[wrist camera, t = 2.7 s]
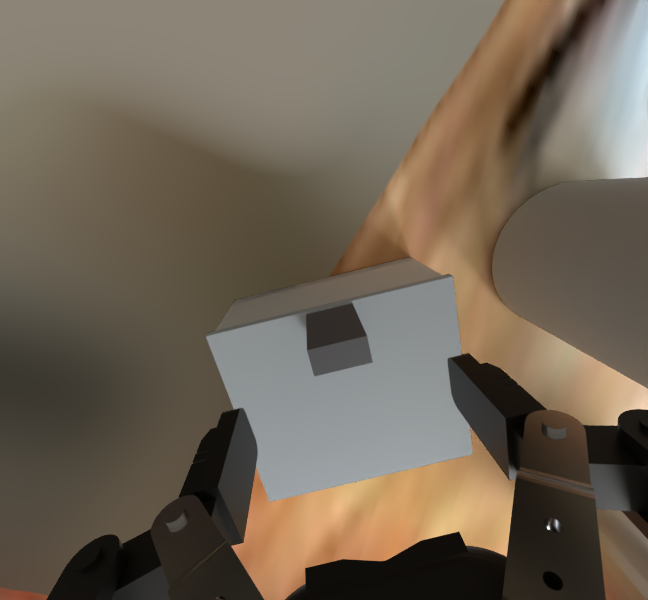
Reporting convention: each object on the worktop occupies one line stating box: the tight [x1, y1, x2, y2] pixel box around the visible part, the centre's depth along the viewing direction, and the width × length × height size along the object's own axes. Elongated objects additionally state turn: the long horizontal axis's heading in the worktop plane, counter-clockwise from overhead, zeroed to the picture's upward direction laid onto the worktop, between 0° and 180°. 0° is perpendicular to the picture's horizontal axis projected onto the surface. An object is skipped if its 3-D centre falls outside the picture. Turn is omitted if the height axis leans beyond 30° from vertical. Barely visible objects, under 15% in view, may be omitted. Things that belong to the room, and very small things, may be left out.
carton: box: [215, 257, 442, 331], centre depth 27 cm, size 16×14×8 cm
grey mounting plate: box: [206, 274, 473, 502], centre depth 21 cm, size 16×14×6 cm
